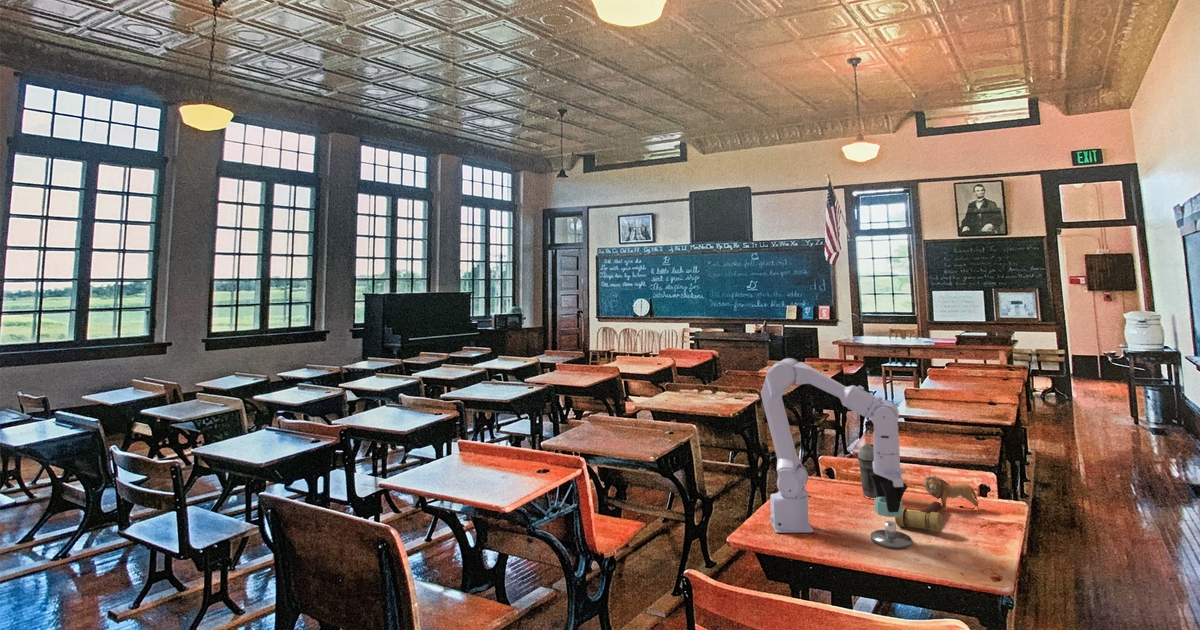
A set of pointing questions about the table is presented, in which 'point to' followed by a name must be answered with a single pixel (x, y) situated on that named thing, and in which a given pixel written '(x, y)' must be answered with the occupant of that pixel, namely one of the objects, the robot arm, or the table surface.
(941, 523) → the gavel
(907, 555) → the table surface
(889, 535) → the grey peg stand
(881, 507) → the ring
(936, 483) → the lion figurine
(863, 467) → the beverage cup
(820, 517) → the table surface
